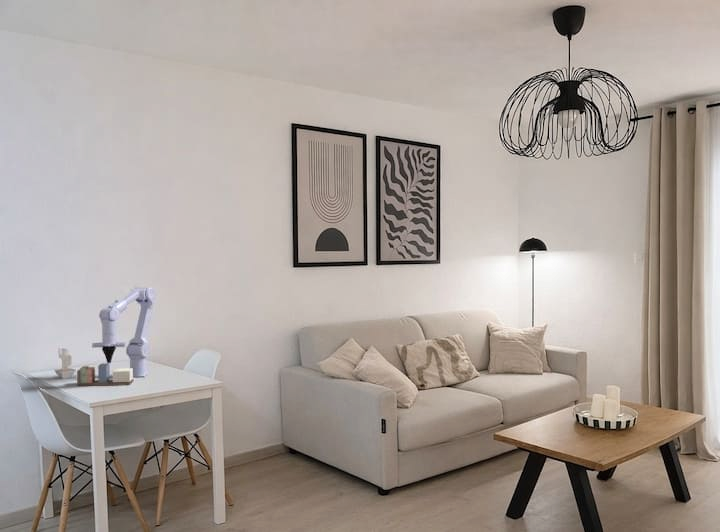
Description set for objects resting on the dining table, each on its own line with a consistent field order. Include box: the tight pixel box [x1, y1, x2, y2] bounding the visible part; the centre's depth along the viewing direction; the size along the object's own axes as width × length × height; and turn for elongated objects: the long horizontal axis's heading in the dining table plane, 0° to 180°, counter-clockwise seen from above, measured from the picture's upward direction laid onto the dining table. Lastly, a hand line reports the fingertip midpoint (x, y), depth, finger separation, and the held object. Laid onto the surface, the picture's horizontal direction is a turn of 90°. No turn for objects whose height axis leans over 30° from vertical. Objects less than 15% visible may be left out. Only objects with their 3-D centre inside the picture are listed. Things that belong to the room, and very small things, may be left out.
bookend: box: [112, 367, 134, 382], centre depth 290 cm, size 7×8×5 cm
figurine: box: [54, 346, 77, 379], centre depth 302 cm, size 7×9×15 cm
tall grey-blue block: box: [97, 362, 111, 383], centre depth 289 cm, size 6×4×8 cm, turn 8°
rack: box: [76, 365, 134, 387], centre depth 289 cm, size 8×23×8 cm, turn 99°
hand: (109, 362), depth 289 cm, fingers closed
